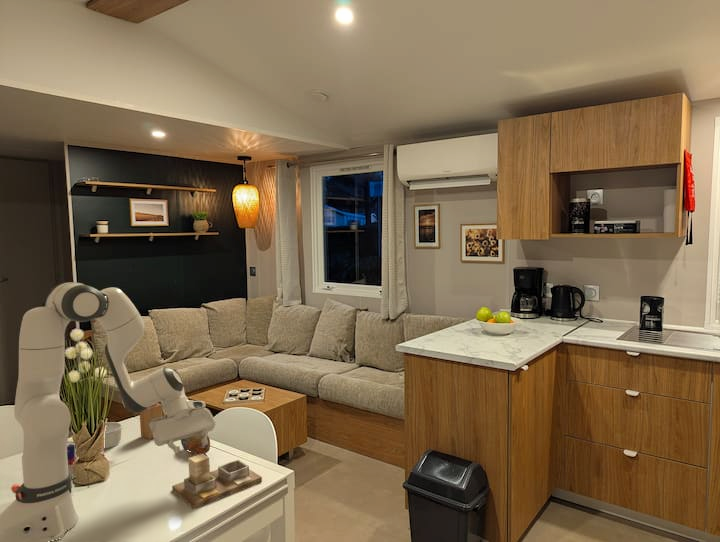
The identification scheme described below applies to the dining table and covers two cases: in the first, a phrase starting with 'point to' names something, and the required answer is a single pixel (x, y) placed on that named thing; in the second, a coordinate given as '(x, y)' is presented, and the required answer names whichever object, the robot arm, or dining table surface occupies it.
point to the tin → (196, 444)
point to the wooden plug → (199, 469)
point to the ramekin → (112, 434)
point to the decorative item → (149, 419)
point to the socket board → (217, 484)
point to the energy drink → (71, 457)
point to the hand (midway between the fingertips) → (192, 448)
